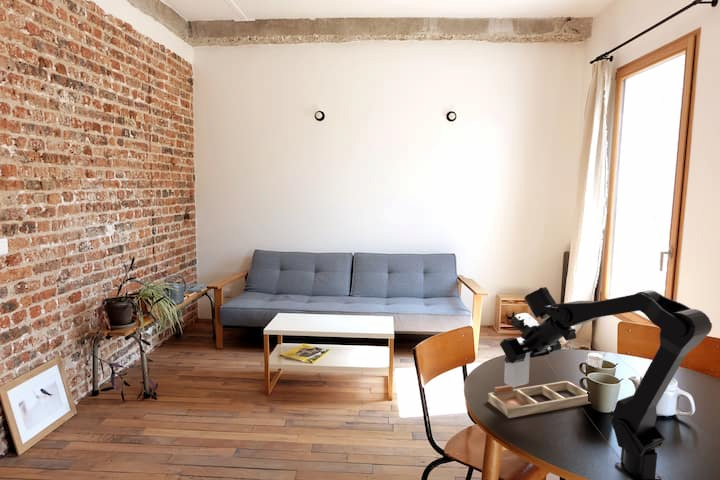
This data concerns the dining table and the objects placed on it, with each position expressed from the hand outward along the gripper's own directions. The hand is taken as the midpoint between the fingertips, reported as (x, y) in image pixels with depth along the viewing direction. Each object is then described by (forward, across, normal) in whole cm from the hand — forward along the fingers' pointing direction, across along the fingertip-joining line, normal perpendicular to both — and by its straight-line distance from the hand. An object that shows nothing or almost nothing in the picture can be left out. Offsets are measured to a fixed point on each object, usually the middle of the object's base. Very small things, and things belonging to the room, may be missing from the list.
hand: (513, 359), depth 129 cm
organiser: (+7, -8, +12) cm, 16 cm away
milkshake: (+9, -36, +11) cm, 39 cm away
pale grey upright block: (+4, 0, +6) cm, 7 cm away
